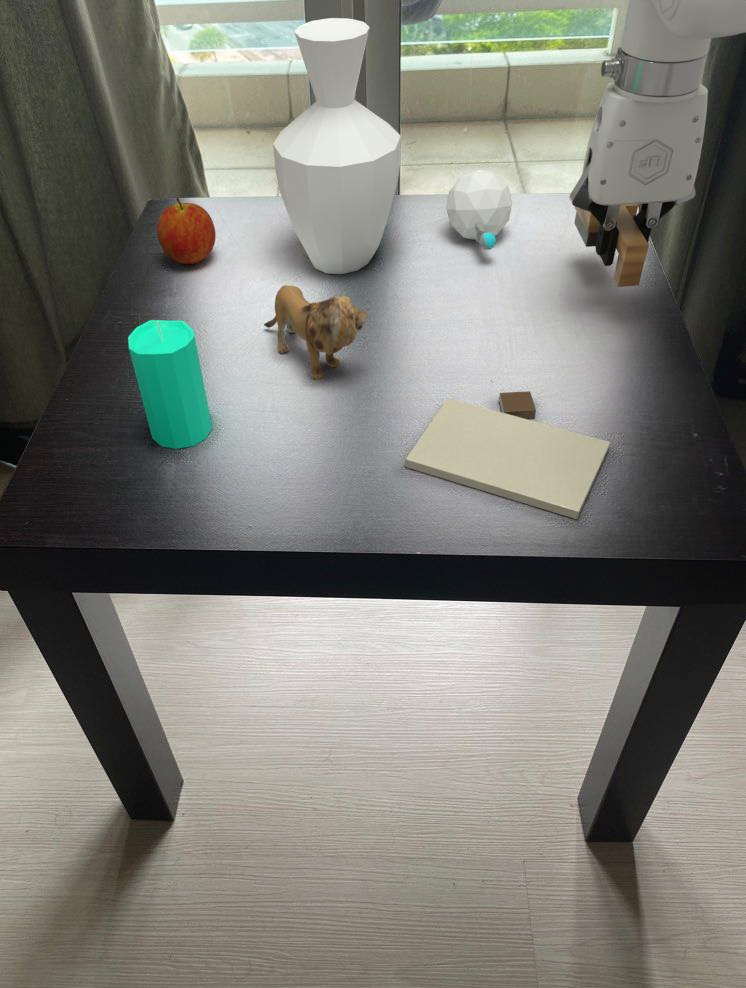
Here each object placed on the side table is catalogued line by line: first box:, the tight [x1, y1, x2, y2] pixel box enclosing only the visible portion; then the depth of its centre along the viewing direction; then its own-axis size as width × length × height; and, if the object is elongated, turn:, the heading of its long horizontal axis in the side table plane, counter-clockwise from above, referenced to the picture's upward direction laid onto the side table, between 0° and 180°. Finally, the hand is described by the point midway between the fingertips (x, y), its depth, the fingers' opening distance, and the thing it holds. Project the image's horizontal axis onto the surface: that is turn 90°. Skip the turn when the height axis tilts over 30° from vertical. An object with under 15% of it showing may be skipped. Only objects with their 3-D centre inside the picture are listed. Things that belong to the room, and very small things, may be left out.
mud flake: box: [498, 391, 537, 419], centre depth 82 cm, size 3×3×1 cm
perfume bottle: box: [445, 168, 513, 251], centre depth 103 cm, size 8×8×12 cm
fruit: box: [156, 197, 216, 265], centre depth 102 cm, size 7×7×8 cm
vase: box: [272, 17, 402, 275], centre depth 95 cm, size 14×14×25 cm
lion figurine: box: [263, 284, 368, 380], centre depth 87 cm, size 15×5×9 cm, turn 44°
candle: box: [127, 319, 213, 450], centre depth 78 cm, size 6×6×12 cm
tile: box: [404, 397, 611, 520], centre depth 77 cm, size 16×10×1 cm, turn 63°
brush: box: [573, 204, 650, 288], centre depth 91 cm, size 14×5×5 cm, turn 3°
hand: (618, 257), depth 90 cm, fingers closed on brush
